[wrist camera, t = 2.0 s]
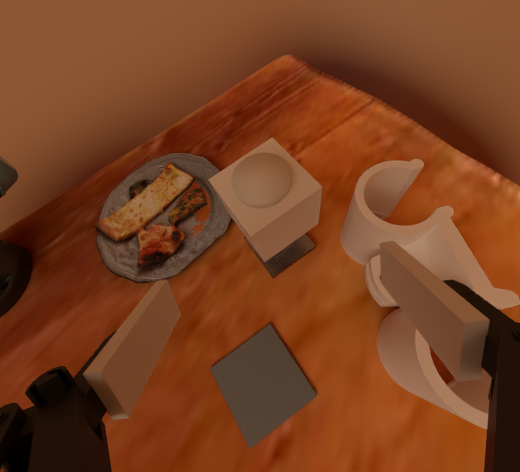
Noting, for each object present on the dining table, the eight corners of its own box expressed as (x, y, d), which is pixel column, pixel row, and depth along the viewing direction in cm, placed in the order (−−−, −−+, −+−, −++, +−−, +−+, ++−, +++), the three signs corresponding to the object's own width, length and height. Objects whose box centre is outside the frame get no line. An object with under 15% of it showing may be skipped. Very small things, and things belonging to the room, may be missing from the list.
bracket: (327, 221, 39) (336, 175, 28) (389, 204, 38) (423, 150, 27) (398, 407, 29) (456, 449, 18) (483, 388, 28) (600, 421, 17)
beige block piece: (230, 215, 32) (204, 173, 24) (279, 181, 33) (270, 129, 25) (264, 262, 29) (248, 232, 21) (318, 223, 30) (323, 180, 21)
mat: (211, 368, 33) (209, 368, 33) (270, 323, 34) (270, 323, 34) (250, 447, 29) (249, 448, 29) (317, 394, 30) (317, 395, 30)
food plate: (141, 314, 38) (126, 311, 35) (84, 222, 47) (69, 213, 44) (259, 210, 42) (255, 199, 39) (186, 145, 52) (178, 132, 48)
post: (244, 239, 40) (224, 206, 30) (284, 211, 41) (277, 170, 31) (273, 278, 37) (261, 255, 27) (315, 247, 37) (319, 214, 27)
